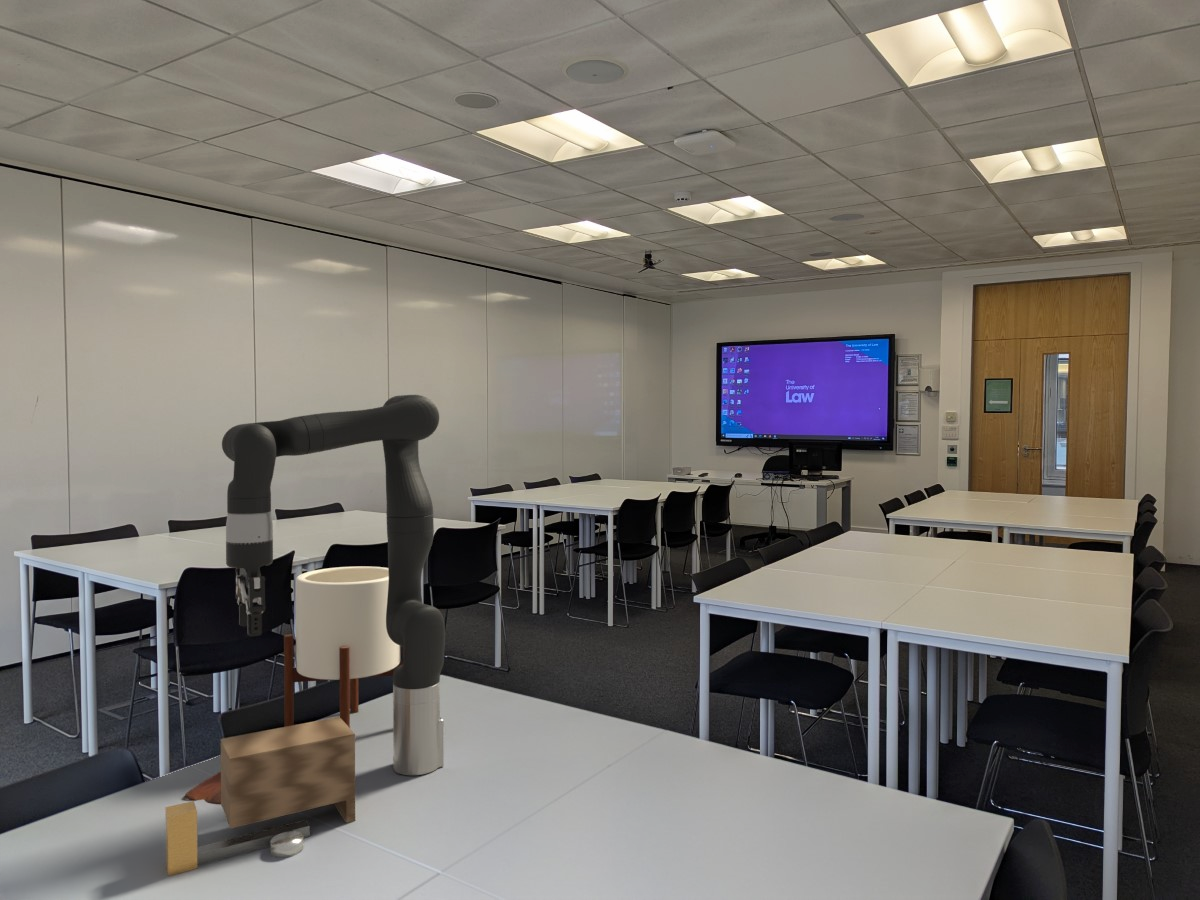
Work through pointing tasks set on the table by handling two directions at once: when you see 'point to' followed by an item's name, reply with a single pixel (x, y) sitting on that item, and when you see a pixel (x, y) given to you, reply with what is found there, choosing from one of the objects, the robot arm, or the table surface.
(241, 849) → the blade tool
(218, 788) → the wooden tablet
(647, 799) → the table surface
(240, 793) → the walnut cabinet
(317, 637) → the plant pot with stand
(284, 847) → the steel token
